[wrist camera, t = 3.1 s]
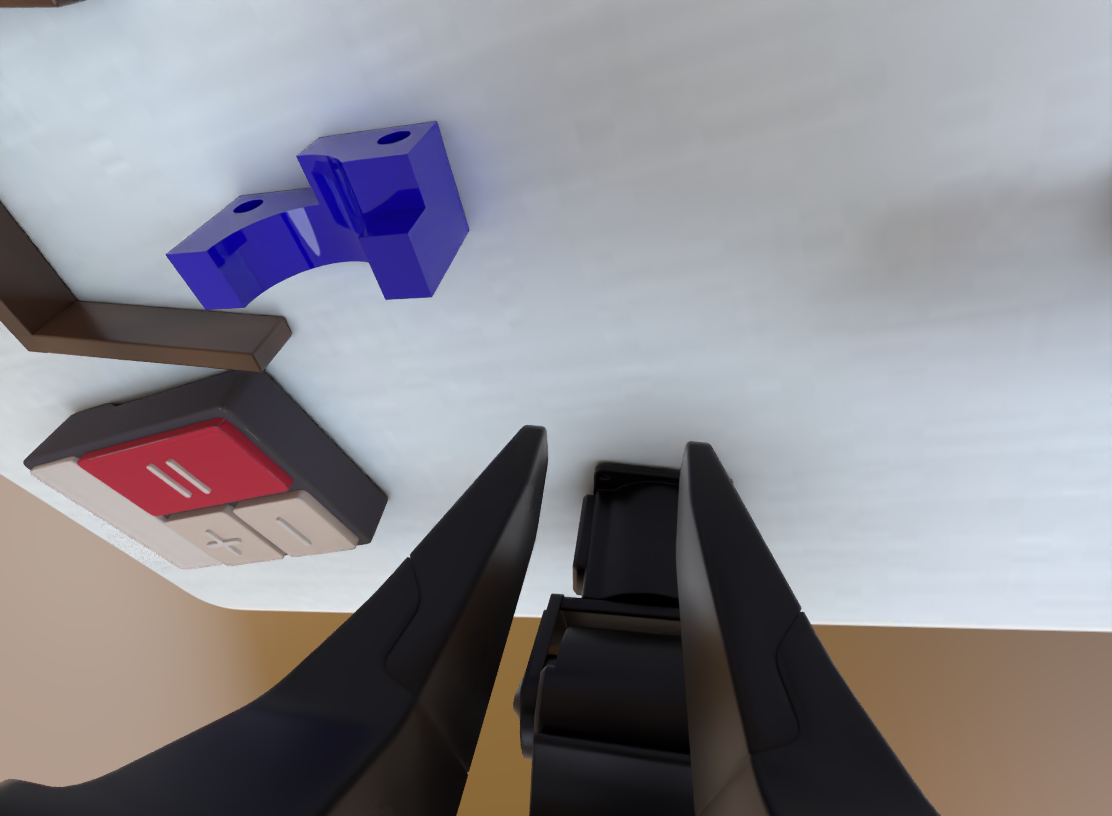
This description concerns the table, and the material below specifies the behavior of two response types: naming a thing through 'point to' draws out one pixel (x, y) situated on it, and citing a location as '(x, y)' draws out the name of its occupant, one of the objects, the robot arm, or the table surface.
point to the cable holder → (337, 221)
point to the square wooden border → (119, 310)
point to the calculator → (213, 474)
